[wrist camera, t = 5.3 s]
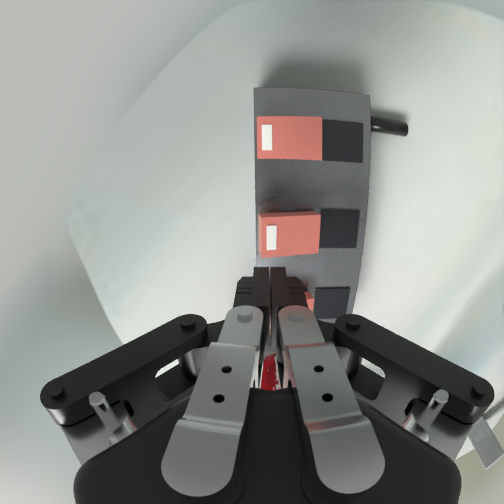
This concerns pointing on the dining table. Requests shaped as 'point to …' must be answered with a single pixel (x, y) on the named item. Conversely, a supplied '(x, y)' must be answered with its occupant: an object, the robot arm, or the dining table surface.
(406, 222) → the dining table surface
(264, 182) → the power strip
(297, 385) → the robot arm
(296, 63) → the dining table surface
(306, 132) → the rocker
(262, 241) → the rocker
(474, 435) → the skincare box
